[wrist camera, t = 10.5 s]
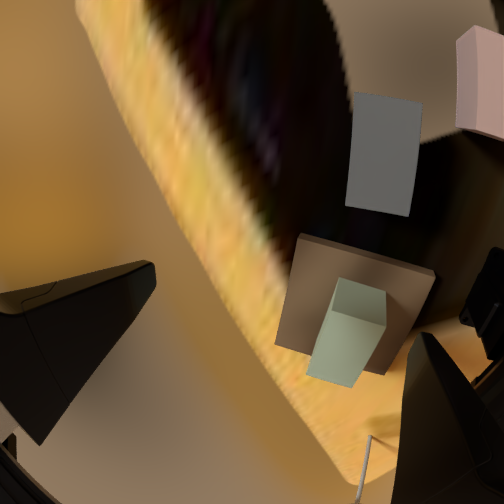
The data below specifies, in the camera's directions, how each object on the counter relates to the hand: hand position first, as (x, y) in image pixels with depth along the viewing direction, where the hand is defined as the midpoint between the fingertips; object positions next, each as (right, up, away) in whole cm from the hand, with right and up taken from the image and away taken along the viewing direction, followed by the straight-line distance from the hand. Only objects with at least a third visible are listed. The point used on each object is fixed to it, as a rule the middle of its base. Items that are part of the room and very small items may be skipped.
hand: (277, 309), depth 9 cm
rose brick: (+14, +12, +3) cm, 18 cm away
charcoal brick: (+7, +8, +8) cm, 13 cm away
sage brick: (+6, -3, +12) cm, 14 cm away
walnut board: (+7, -3, +13) cm, 15 cm away
